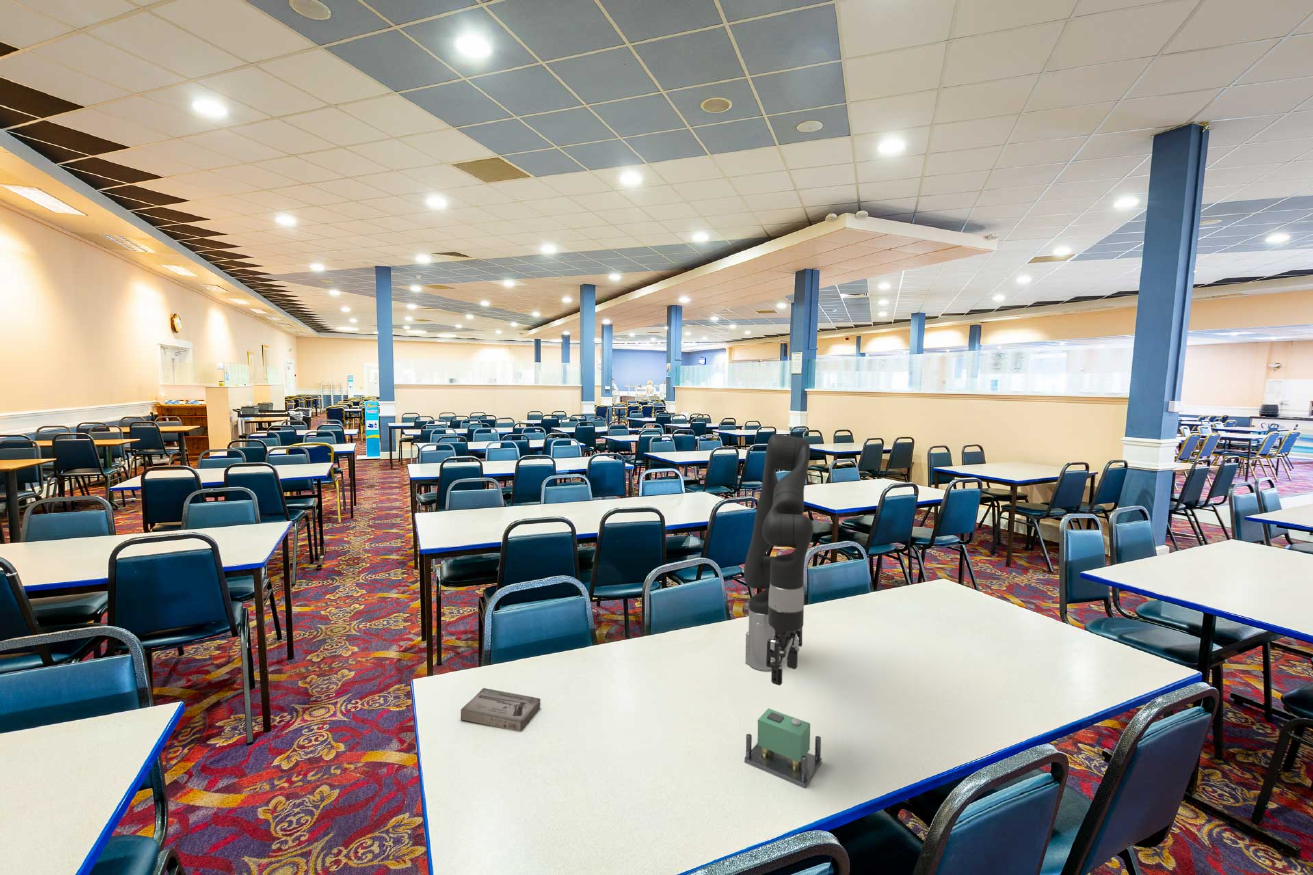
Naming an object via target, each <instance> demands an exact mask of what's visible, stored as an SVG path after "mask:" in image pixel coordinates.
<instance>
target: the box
mask: <svg viewBox="0 0 1313 875" xmlns="http://www.w3.org/2000/svg"><path fill="white" fill-rule="evenodd" d="M540 710H541V698H539V697H534V696H528V695H522V694H517V693H513V692H506V691H503V690H502V691H501V690H495V689H492V688H486V687H483V688H482V689H480V691H478V693H477V694H476V695H475V696H474V697H473V698H471V700H469V701H468V702H467V703H466V704H465V705H464V706H463V707H462V708H461V709H460V720H461V721H462V720H463V721H467V722H472V723H476V724H482V725H486V726H490V727H494V728H495V727H496V728H500V729H504V730H509V731H515V732H522V731H523V729H525V728H526V726H527V724H528V723H529V722H530V721H531V720H532V719H533V718H534V717H535V716H536V714H537V712H539V711H540Z"/></svg>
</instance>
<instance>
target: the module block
mask: <svg viewBox="0 0 1313 875" xmlns="http://www.w3.org/2000/svg"><path fill="white" fill-rule="evenodd" d="M757 743H758V746H761V747H763V748H766V749H768V750H770V751H773V752H775V753H778V754H780V755H783V756H785V757H788V758H790V759H793V760H795V761H798V762H800V763H801V758H802V756H805V755H806V754H807V753H809V751H810V749H811V723H810V722H808V721H804V720H802V719H800V718H796V717H794V716H790V715H788V714H785V713H783V712H780V711H777V710H774V709H772V708H767V709H766V710H765V711H764V712H763V714H762V715H761V716H760V717H758V719H757Z"/></svg>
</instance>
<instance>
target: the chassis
mask: <svg viewBox="0 0 1313 875" xmlns="http://www.w3.org/2000/svg"><path fill="white" fill-rule="evenodd" d="M745 735H746V737H745V756H744V763H745V764H747V765H750V766H753V767H756V768H757V769H759V770H762V771H764V772H765V773H769V774H770V775H773V776H776V777H778V778H780V779H783V780H786V781H787V782H789V783H792V784H795V785H797V786H800V787H802V788H803V789H806V787H807V786H808V785H809V783H810V781H811V780H812V778H813V776H814V775H815V773H816V772H817V771H818V769H819V767H820V766H821V764H822V762H823V761H822V756H821V755H822V753H821V752H822V751H821V750H822V737H821V736H820V735H816V736H815V740H814V741H815V742H814V744H815V746H814V754H812V753H810V752H808V753H807V754H806V755H805V756H802V758H801V763H800V762H798V761H795V760H793V759H790V758H788V757H785V756H783V755H780V754H778V753H775V752H773V751H770V750H768V749H766V748H763V747H761V746H758V742H757V743H756V744H755V745H754V746H752V743H753V741H752V740H753V739H752V737H753V736H752V734H751V733H747V734H745Z"/></svg>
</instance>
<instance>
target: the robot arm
mask: <svg viewBox="0 0 1313 875" xmlns="http://www.w3.org/2000/svg"><path fill="white" fill-rule="evenodd" d="M810 456H811V446H810V443H809V441H808V440H807V439H806V438H803V437H798V436H791V435H786V434H780V433H779V434H778V433H777V434H772V435H771V436H770V437H769V439H768V442H767V445H766V450H765V457H764V468H763V473H762V474H763V475H762V481H761V488H760V493H759V497H758V501H757V506H756V513H755V516H754V525H753V531H752V536H751V541H750V545H749V548H748V551H747V554H746V558H745V562H744V566H743V580H744V583H745V584H746V586H747V587H749V588H751V589H763V590H762V591H760V592H759V593H757V594H755V595H753V596H751V597H750V598H749V601H748V631H747V632H745V664H747V665H748V666H750V667H751V668H752V669H755V670H757V671H763V672H767V671H769V672H770V671H771V672H770V673H771V675H770V677H771V683H772V684H773V685H777V686H781V685H782V684H783V666H784V662H785V660H786V667H787V668H790V669H792V670H796V669H797V668H798V660H799V659H798V657H799V656H798V654H799V652H800V648H801V647H802V646H803V627H804V612H805V611H804V608H805V593H804V592H805V591H804V568H805V561H806V556H807V553H808V549H809V547H810V545H811V544H810V543H811V541H812V538H813V534H814V525H813V522H812V520H811V519H810V517H809V516H807V515H804V510H805V485H806V481H807V475H808V470H809V464H810V463H809V462H810ZM777 470H781V471H786V472H788V473H787V474H785V475H783V477H781V478H780V479H779V480H778V476H777ZM772 547H786V548H794V550H793V551H792V552H790V553H787V554H780V555H776V556H772V555H771V556H770V555H769V556H765V555H766V553H767V552H768V551H769V550H770V549H772Z"/></svg>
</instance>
